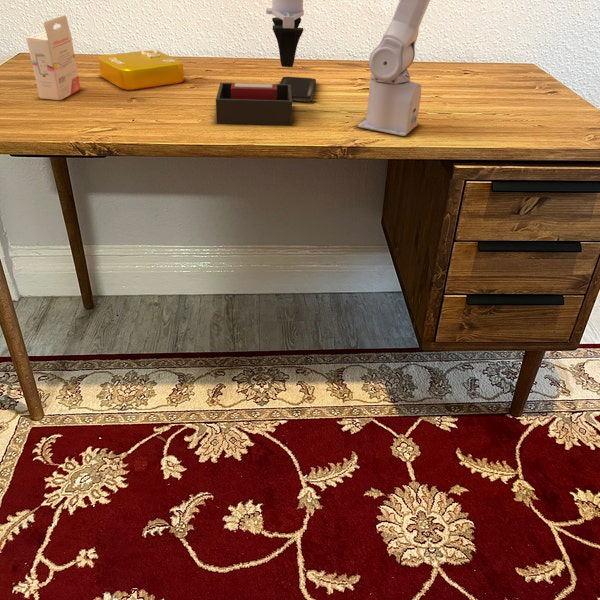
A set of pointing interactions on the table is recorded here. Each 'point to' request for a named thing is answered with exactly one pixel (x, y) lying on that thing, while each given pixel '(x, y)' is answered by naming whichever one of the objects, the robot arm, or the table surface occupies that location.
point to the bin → (254, 107)
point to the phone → (300, 88)
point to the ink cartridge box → (54, 60)
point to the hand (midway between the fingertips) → (286, 61)
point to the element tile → (141, 69)
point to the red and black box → (253, 91)
